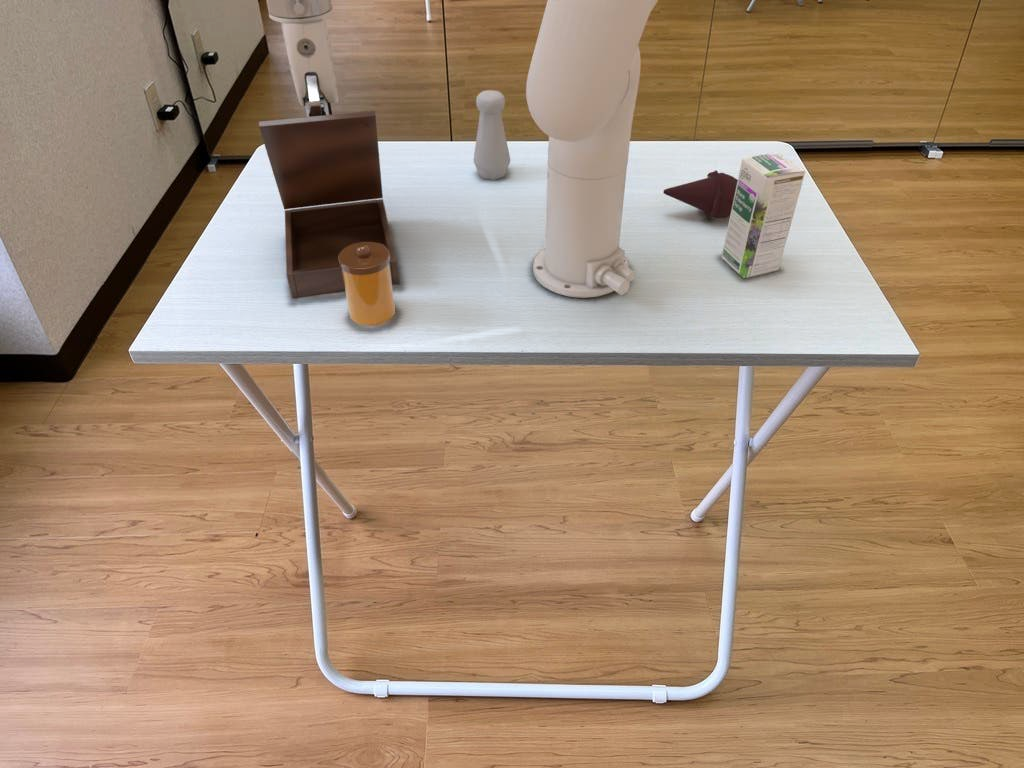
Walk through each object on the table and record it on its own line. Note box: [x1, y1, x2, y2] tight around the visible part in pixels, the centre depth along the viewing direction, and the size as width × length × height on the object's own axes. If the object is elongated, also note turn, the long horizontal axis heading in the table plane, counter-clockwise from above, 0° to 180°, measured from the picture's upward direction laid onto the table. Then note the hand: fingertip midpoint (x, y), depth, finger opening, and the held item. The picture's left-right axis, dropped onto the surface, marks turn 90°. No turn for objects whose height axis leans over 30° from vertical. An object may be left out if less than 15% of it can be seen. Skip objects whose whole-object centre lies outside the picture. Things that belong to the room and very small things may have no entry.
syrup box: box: [721, 152, 806, 279], centre depth 99 cm, size 6×6×14 cm
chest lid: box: [258, 110, 384, 210], centre depth 100 cm, size 17×14×1 cm
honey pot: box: [338, 242, 396, 327], centre depth 93 cm, size 6×6×10 cm
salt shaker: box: [473, 89, 511, 181], centre depth 120 cm, size 6×6×13 cm
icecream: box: [662, 169, 738, 221], centre depth 112 cm, size 7×7×15 cm
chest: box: [284, 198, 401, 299], centre depth 104 cm, size 17×14×4 cm
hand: (323, 139), depth 103 cm, fingers open, 9 cm apart
